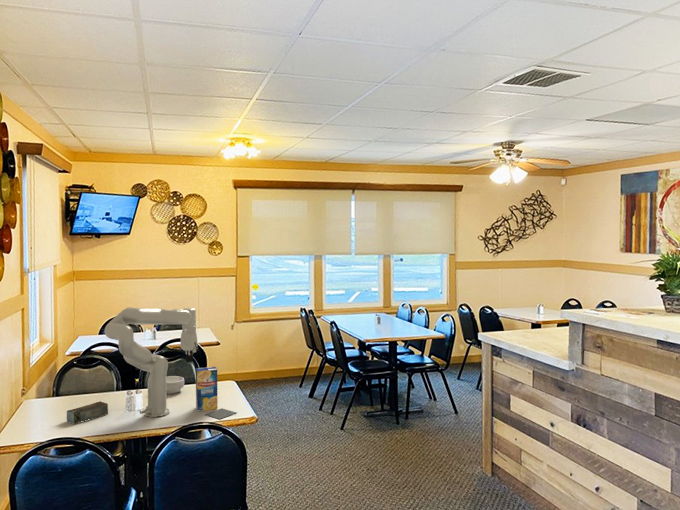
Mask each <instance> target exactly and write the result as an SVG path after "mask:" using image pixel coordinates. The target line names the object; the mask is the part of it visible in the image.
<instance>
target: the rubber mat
mask: <svg viewBox="0 0 680 510" xmlns="http://www.w3.org/2000/svg"><path fill="white" fill-rule="evenodd" d="M236 413H237V412H235V411H233V410H230V409H225V408H223V407H222V408H219V409H218V408H217V409H214V410H213V411H210V412H206V413H205V414H204V416H207V415H208V416H207V417H210V418H214V419H217V420H222V419H225V418H228V417H231V416H234V415H237V414H236ZM233 414H234V415H233Z"/></svg>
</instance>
